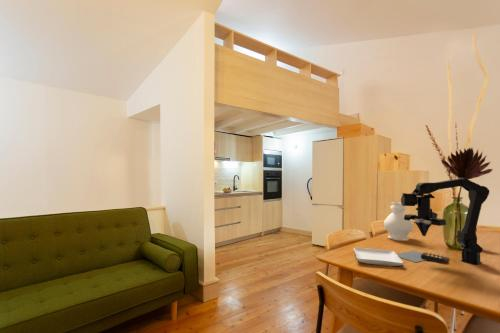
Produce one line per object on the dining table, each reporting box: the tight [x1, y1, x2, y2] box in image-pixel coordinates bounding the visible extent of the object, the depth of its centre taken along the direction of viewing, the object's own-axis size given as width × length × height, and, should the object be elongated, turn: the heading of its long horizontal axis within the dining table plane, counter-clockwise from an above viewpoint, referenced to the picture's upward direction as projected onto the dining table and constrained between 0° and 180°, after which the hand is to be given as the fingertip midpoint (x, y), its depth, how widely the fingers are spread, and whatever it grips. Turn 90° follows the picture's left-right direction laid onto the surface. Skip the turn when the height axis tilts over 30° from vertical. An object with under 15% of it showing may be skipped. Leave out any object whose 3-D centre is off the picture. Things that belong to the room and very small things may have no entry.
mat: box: [396, 250, 428, 263], centre depth 145 cm, size 13×18×1 cm
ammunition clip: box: [421, 251, 448, 264], centre depth 142 cm, size 11×2×12 cm
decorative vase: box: [383, 201, 414, 242], centre depth 185 cm, size 18×18×25 cm
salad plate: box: [353, 247, 404, 267], centre depth 140 cm, size 21×21×3 cm
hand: (424, 236), depth 140 cm, fingers closed
